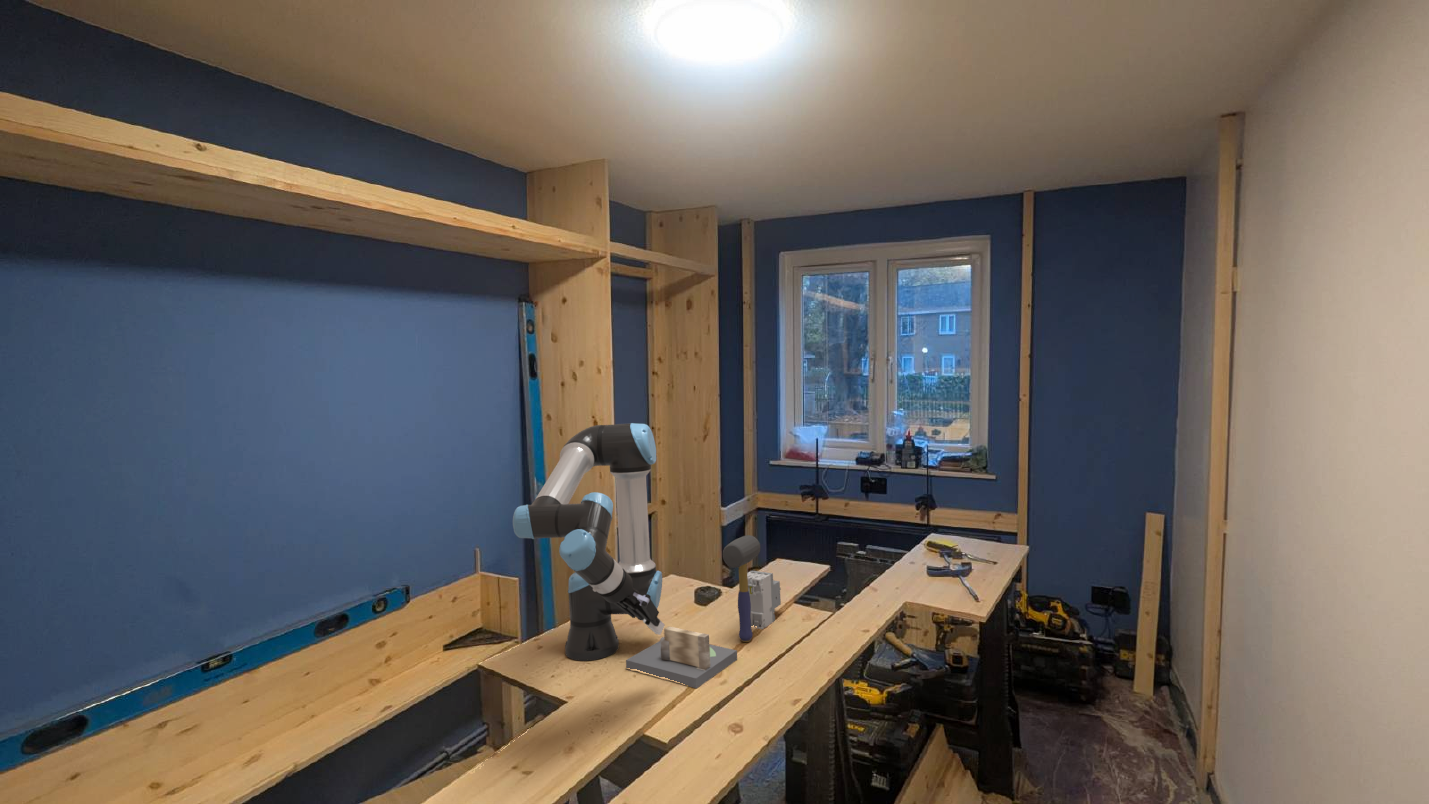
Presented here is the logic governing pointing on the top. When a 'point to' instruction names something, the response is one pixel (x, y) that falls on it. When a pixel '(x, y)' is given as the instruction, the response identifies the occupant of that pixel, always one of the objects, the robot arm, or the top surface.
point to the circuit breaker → (763, 598)
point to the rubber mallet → (742, 578)
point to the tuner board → (681, 665)
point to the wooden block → (685, 647)
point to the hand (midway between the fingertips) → (660, 629)
